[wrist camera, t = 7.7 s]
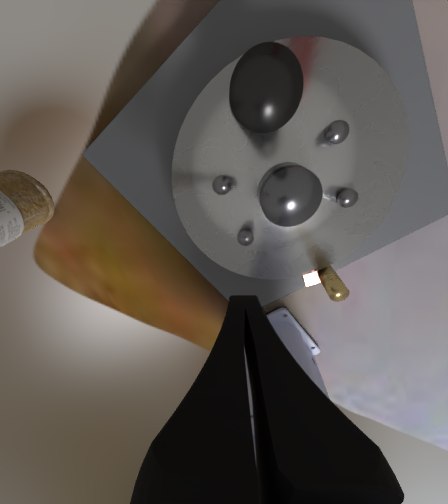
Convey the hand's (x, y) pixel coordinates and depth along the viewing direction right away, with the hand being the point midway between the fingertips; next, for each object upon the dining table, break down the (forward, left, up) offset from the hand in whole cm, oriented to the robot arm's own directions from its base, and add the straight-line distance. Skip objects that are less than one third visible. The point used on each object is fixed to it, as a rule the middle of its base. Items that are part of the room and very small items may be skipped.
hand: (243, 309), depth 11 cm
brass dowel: (-7, -4, -9) cm, 12 cm away
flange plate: (+1, -5, -8) cm, 9 cm away
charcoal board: (+2, -5, -9) cm, 11 cm away
